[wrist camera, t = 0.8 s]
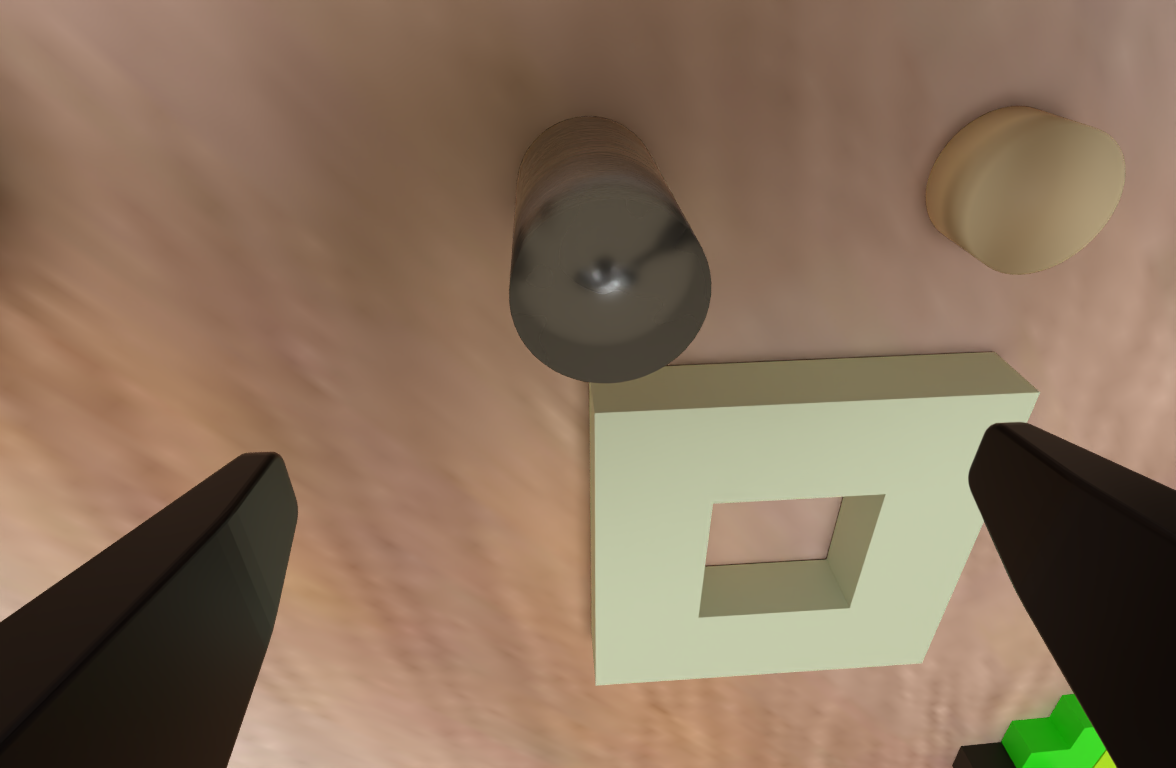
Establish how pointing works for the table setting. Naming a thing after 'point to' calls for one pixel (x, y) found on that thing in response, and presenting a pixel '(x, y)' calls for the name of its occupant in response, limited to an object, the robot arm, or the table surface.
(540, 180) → the long steel pin
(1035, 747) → the building blocks
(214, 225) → the table surface
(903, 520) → the hole board
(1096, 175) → the short birch pin
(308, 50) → the table surface
